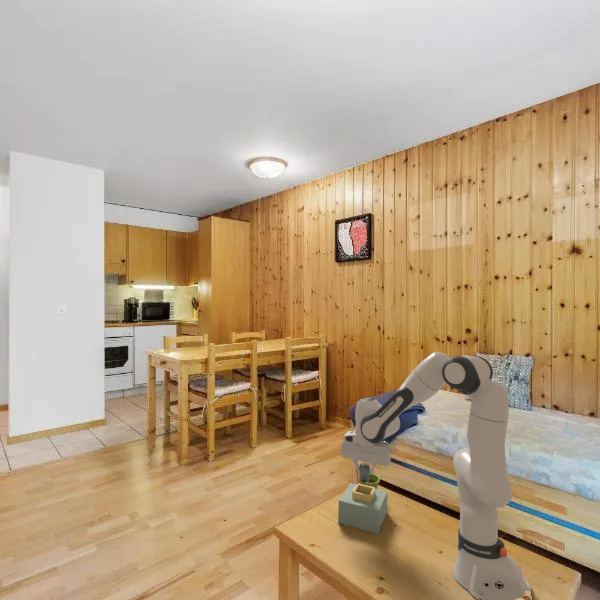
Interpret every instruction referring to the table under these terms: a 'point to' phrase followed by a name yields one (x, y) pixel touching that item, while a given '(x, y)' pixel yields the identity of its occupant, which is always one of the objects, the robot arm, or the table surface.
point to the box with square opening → (363, 507)
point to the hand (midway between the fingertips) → (364, 471)
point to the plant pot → (372, 481)
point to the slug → (364, 472)
